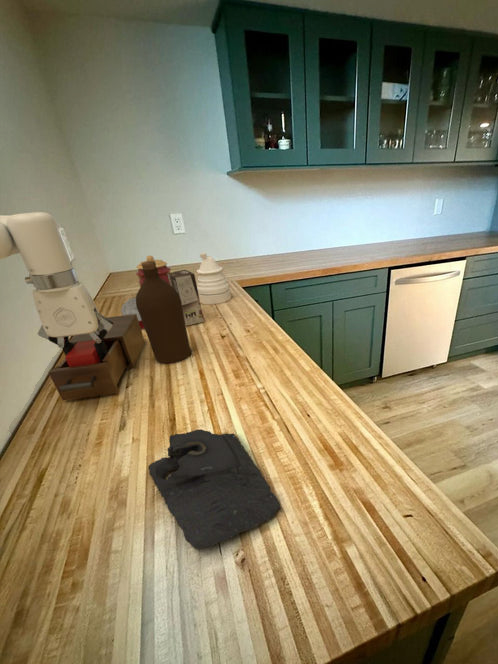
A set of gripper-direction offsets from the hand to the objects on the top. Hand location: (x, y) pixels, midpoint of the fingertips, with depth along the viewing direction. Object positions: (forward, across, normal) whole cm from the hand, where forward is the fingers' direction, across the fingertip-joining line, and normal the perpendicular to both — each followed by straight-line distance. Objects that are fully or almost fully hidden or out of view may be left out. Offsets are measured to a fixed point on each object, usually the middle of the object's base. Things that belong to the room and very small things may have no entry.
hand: (89, 358), depth 77 cm
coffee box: (+8, +19, +38) cm, 43 cm away
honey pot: (+8, +27, +60) cm, 66 cm away
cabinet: (+7, 0, +15) cm, 17 cm away
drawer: (+6, 0, -1) cm, 6 cm away
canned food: (+7, +2, +40) cm, 41 cm away
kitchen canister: (+8, +5, +67) cm, 68 cm away
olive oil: (+8, +16, +11) cm, 21 cm away
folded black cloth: (+8, +27, -39) cm, 48 cm away
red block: (0, 0, 0) cm, 0 cm away
